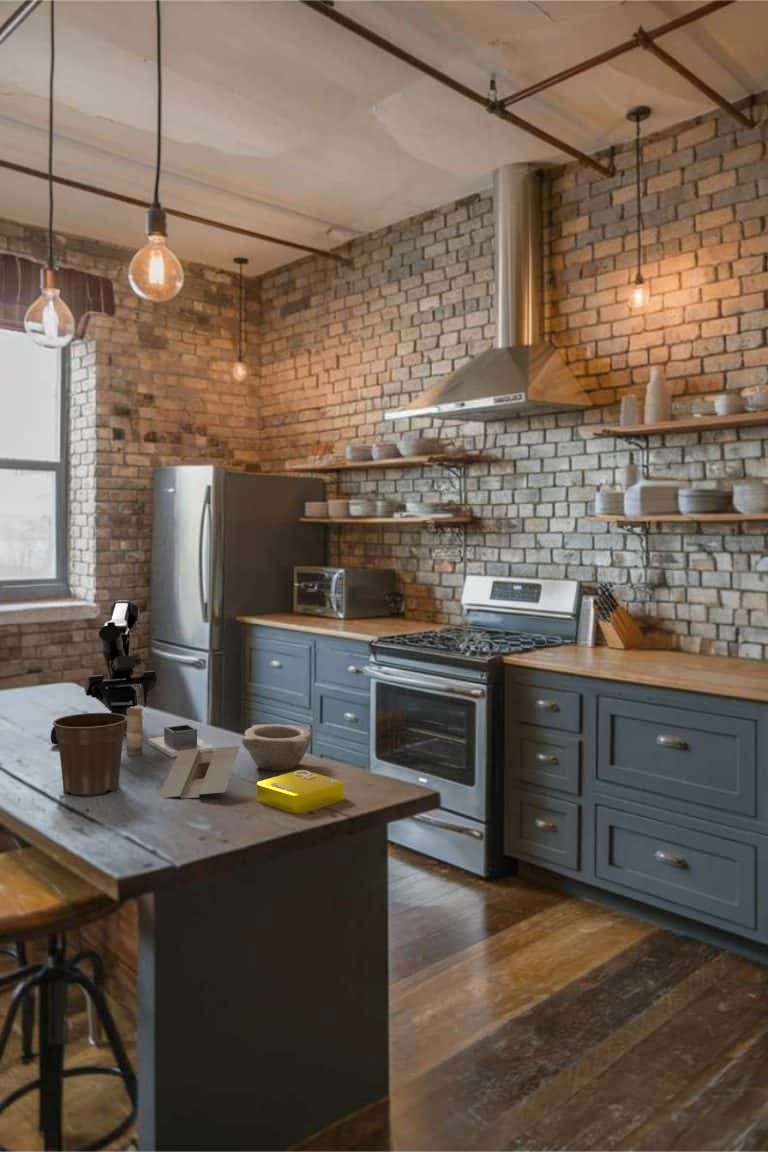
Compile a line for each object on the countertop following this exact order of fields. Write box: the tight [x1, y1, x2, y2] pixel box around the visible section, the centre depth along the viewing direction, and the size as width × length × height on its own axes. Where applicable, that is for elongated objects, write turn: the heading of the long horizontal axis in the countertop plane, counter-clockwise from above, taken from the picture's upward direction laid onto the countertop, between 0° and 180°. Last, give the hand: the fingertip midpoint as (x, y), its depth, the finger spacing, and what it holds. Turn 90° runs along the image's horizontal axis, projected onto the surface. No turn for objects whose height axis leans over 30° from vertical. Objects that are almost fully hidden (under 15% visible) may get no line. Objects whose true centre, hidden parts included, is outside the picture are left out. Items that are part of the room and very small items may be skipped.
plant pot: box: [52, 712, 128, 797], centre depth 198 cm, size 16×16×16 cm
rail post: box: [126, 706, 143, 757], centre depth 229 cm, size 4×4×12 cm
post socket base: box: [147, 724, 215, 759], centre depth 237 cm, size 18×12×5 cm, turn 34°
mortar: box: [241, 723, 313, 772], centre depth 219 cm, size 17×17×9 cm
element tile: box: [255, 769, 345, 814], centre depth 193 cm, size 15×15×5 cm
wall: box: [157, 745, 240, 799], centre depth 199 cm, size 16×9×15 cm
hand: (128, 708), depth 233 cm, fingers open, 9 cm apart
